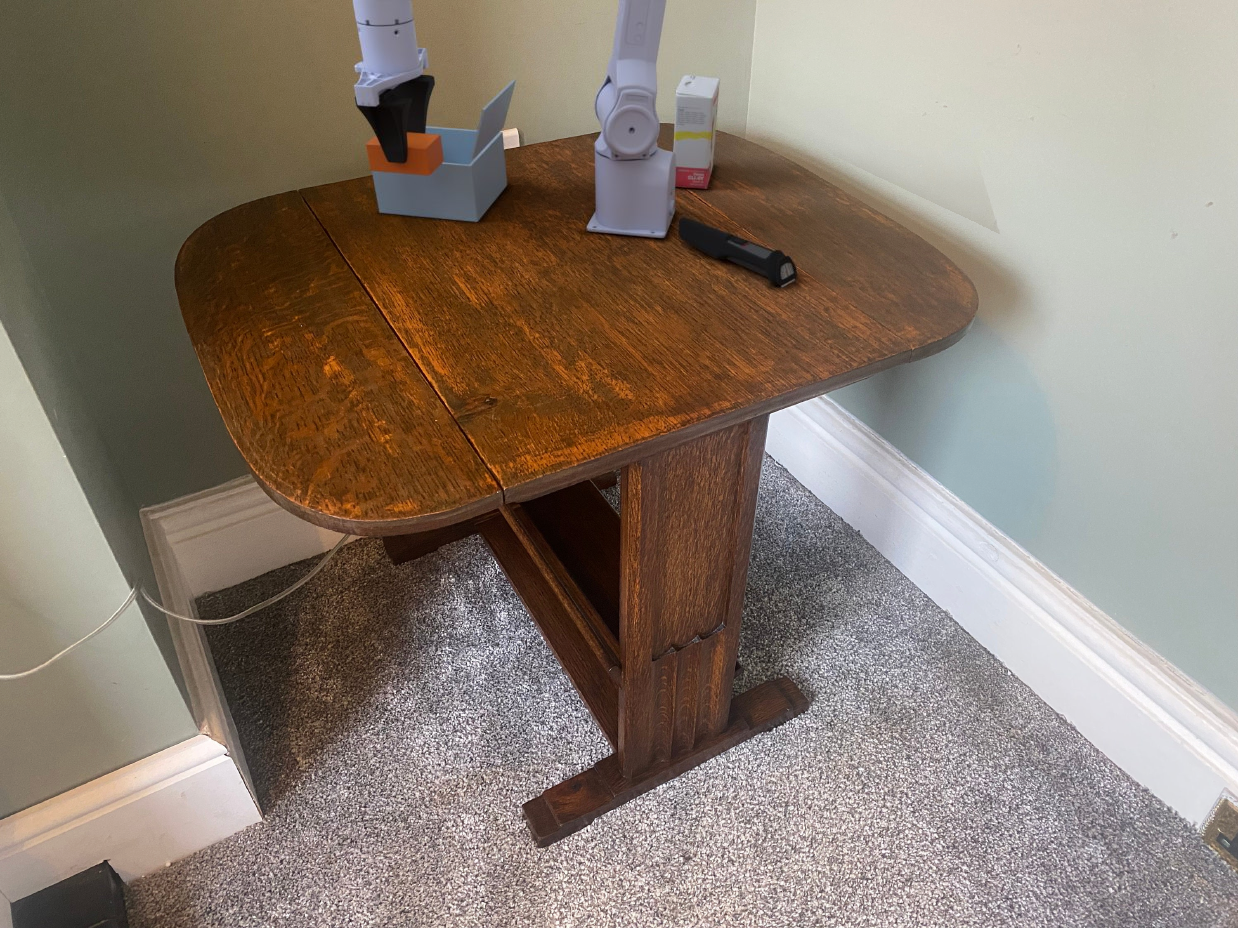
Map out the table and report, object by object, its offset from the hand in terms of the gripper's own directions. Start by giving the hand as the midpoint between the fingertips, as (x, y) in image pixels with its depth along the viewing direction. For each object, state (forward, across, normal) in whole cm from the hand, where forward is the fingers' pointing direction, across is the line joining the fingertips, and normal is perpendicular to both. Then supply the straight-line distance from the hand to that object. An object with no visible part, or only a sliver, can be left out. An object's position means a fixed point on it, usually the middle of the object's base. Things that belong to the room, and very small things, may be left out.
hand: (406, 153), depth 95 cm
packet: (+1, 0, 0) cm, 1 cm away
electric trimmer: (+10, 0, +38) cm, 39 cm away
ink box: (+10, -24, +30) cm, 39 cm away
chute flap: (-1, -10, +7) cm, 12 cm away
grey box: (+9, -10, 0) cm, 14 cm away
